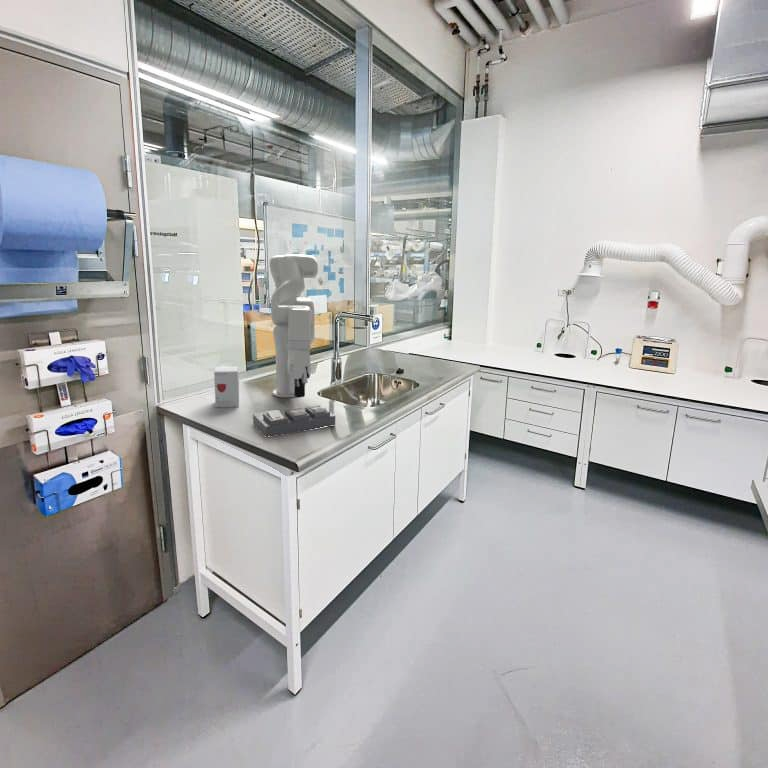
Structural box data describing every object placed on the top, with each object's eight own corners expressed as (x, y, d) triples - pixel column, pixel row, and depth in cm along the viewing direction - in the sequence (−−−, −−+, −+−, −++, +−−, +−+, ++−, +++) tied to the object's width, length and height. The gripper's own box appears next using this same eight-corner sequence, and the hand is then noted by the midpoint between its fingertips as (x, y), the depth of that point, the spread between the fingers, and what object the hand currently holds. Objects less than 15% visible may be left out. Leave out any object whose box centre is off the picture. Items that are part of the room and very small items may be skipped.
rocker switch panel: (253, 424, 163) (252, 409, 161) (318, 414, 177) (319, 400, 175) (266, 437, 152) (265, 422, 150) (335, 425, 166) (335, 411, 164)
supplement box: (215, 408, 178) (213, 371, 174) (216, 401, 186) (215, 366, 182) (239, 407, 180) (237, 371, 176) (239, 400, 189) (238, 365, 185)
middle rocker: (288, 414, 162) (288, 410, 162) (299, 412, 164) (298, 409, 164) (295, 416, 157) (294, 412, 157) (305, 414, 159) (305, 410, 159)
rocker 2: (309, 411, 167) (309, 407, 166) (319, 409, 169) (318, 406, 169) (316, 412, 162) (315, 409, 161) (326, 411, 164) (325, 407, 164)
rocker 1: (267, 414, 158) (267, 410, 157) (278, 412, 160) (278, 409, 159) (272, 422, 153) (273, 419, 153) (284, 421, 155) (284, 417, 155)
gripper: (280, 341, 156) (281, 392, 161) (297, 349, 144) (297, 403, 149) (301, 340, 160) (301, 390, 165) (319, 347, 148) (318, 401, 153)
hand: (299, 396), depth 157 cm, fingers closed
